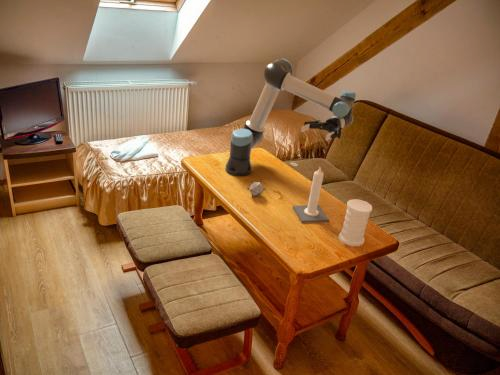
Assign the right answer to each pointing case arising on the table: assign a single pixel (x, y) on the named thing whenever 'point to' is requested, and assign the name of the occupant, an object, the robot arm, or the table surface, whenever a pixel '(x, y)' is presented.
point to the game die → (256, 188)
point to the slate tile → (307, 219)
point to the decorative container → (355, 222)
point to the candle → (314, 193)
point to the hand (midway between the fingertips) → (314, 133)
